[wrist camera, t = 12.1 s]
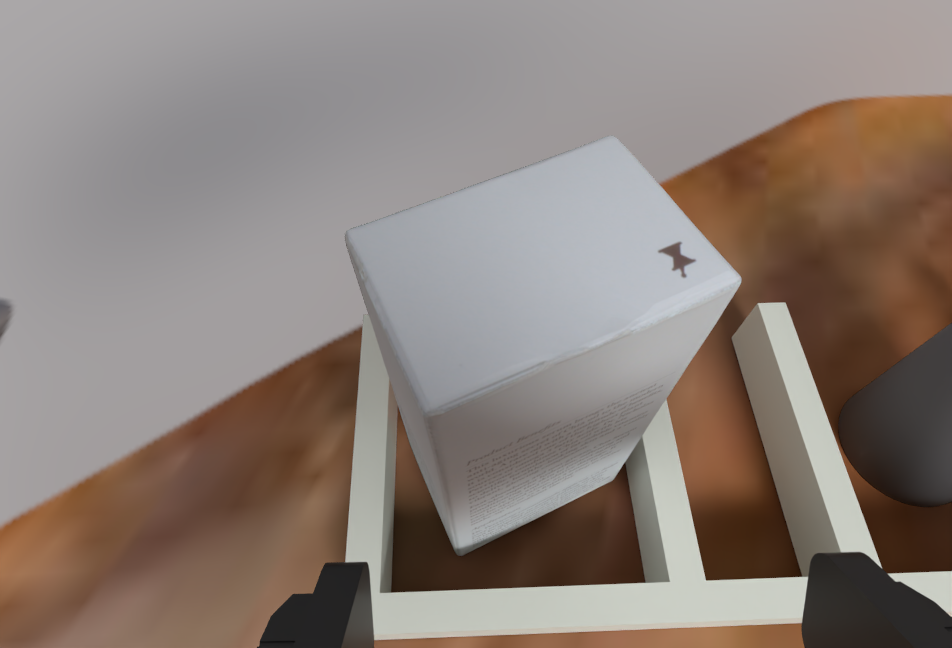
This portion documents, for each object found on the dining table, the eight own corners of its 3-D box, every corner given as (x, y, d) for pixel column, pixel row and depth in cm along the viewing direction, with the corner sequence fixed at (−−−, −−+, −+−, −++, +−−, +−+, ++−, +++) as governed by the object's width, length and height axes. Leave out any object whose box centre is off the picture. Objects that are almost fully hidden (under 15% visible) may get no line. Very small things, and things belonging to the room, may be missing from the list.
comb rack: (981, 330, 23) (1032, 295, 21) (1135, 609, 18) (1224, 601, 16) (374, 348, 23) (363, 314, 21) (356, 641, 18) (339, 635, 16)
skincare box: (554, 380, 22) (622, 125, 12) (614, 482, 20) (759, 280, 10) (404, 447, 21) (335, 223, 11) (453, 563, 19) (428, 426, 9)
